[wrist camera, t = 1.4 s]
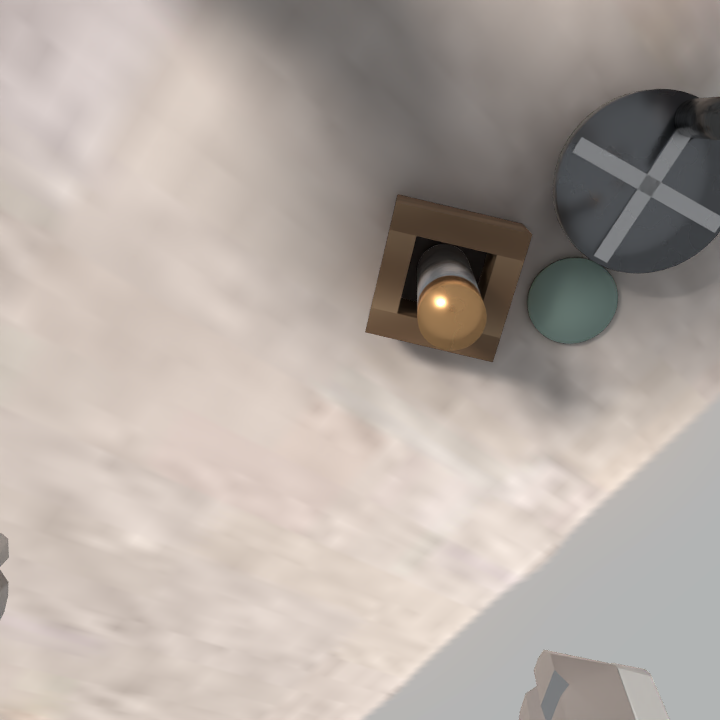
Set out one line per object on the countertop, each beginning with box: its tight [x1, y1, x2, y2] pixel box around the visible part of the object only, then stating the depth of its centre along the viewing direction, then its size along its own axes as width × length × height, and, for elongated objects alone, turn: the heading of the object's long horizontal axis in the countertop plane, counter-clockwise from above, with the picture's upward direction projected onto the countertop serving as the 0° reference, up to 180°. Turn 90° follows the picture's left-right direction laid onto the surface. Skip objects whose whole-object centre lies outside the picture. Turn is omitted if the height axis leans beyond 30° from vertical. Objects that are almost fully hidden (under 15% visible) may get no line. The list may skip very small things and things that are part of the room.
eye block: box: [365, 194, 532, 362], centre depth 42 cm, size 8×8×4 cm
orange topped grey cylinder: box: [417, 244, 487, 351], centre depth 39 cm, size 3×3×11 cm
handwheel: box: [553, 89, 720, 273], centre depth 37 cm, size 10×10×6 cm
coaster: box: [527, 258, 618, 344], centre depth 44 cm, size 6×6×1 cm
